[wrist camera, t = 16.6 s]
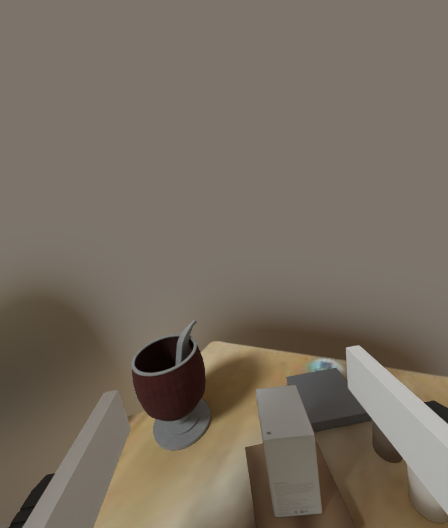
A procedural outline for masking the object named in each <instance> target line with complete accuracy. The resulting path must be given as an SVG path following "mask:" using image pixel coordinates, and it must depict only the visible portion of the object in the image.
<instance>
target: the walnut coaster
mask: <svg viewBox="0 0 448 528" xmlns="http://www.w3.org/2000/svg"><path fill="white" fill-rule="evenodd" d="M315 442H316V440H315ZM245 450H246V457H247V464H248V471H249V478H250V485H251V492H252V499H253V506H254V513H255V520H256V527H257V528H356V527H355V525H354V523H353V521H352V519H351V517H350V514H349V512H348V510H347V508H346V506H345V503H344V501H343V499H342V497H341V495H340V493H339V490H338V488H337V486H336V484H335V482H334V480H333V477H332V475H331V473H330V471H329V469H328V466H327V464H326V462H325V460H324V458H323V456H322V453H321V451H320V449H319V447H318V445H317V443H316V453H317V463H318V473H319V484H320V494H321V503H322V513H321V514H310V515H299V516H287V517H275V515H274V509H273V504H272V497H271V491H270V485H269V478H268V471H267V465H266V458H265V452H264V445H263V444H260V445H254V446H249V447H245Z"/></svg>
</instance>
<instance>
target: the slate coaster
mask: <svg viewBox="0 0 448 528" xmlns="http://www.w3.org/2000/svg"><path fill="white" fill-rule="evenodd" d="M286 378H287V385H288V386H290V385H296V386H297V389H298V391H299V394H300V397H301V399H302V402H303V404H304V407H305V410H306V412H307V415H308V417H309V420H310V423H311V425H312V428H313V431H319V430H324V429H330V428H335V427H340V426H346V425H351V424H356V423H361V422H367V421H372V418H371V417H370V416H369V414H368V413H367V412H366V410H365V409H364V408H363V407H362V405H361V404H360V403H359V401H358V400H357V399H356V398H355V396H354V395H353V394H352V393H351V391H350V390H349V389H348V382H347V381H346V379H345V378H344V377H343V376H342V375H341V373H340V372H339V371H338V370H337V368H333V369H327V370H322V371H317V372H311V373H306V374H301V375H295V376H290V377H286Z"/></svg>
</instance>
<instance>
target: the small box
mask: <svg viewBox="0 0 448 528" xmlns="http://www.w3.org/2000/svg"><path fill="white" fill-rule="evenodd" d="M256 396H257V404H258V413H259V420H260V426H261V432H262V439H263V445H264V452H265V458H266V465H267V471H268V478H269V485H270V491H271V497H272V504H273V509H274V515H275V517H287V516H299V515H310V514H321V513H322V503H321V494H320V484H319V473H318V463H317V453H316V442H315V433H314V431H313V428H312V425H311V423H310V420H309V417H308V415H307V412H306V410H305V407H304V404H303V402H302V399H301V397H300V394H299V391H298V389H297V386H296V385H290V386H281V387H272V388H262V389H256Z"/></svg>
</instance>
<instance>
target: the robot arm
mask: <svg viewBox="0 0 448 528" xmlns="http://www.w3.org/2000/svg"><path fill="white" fill-rule="evenodd" d="M346 360H347V379H348V389H349V390H350V391H351V393H352V394H353V395H354V396H355V398H356V399H357V400H358V401H359V403H360V404H361V405H362V407H363V408H364V409H365V410H366V412H367V413H368V414H369V416H370V417H371V418H372V419H373V421H374V422H375V423H376V424H377V426H378V427H379V428H380V430H381V431H382V432H383V433H384V435H385V436H386V437H387V438H388V440H389V441H390V442H391V444H392V445H393V446H394V447H395V449H396V450H397V451H398V452H399V454H400V455H401V456H402V458H403V459H404V460H405V461H406V463H407V464H408V465H409V466H410V468H411V469H412V470H413V472H414V473H415V474H416V475H417V477H418V478H419V479H420V480H421V482H422V483H423V484H424V486H425V487H426V488H427V489H428V491H429V492H430V493H431V494H432V496H433V497H434V498H435V500H436V501H437V502H438V503H439V505H440V506H441V507H442V508H443V510H444V511H445V512H446V514H447V515H448V408H447V407H445V406H443V405H441V404H439V403H437V402H436V401H429V402H422V401H421V400H420V399H419V398H418V397H417V396H416V395H415V394H413V393H412V392H411V391H410V390H409V389H408V388H407V387H405V386H404V385H403V384H402V383H401V382H400V381H399V380H398V379H396V378H395V377H394V376H393V375H392V374H391V373H390V372H389V371H387V370H386V369H385V368H384V367H383V366H382V365H381V364H379V363H378V362H377V361H376V360H375V359H374V358H373V357H372V356H370V355H369V354H368V353H367V352H366V351H365V350H364V349H363V348H361V347H360V346H359V345H358V346H352V347H347V348H346ZM129 432H130V425H129V422H128V419H127V416H126V413H125V410H124V407H123V405H122V401H121V398H120V395H119V392H118V390H114V391H109V392H104V394H103V395H102V397H101V399H100V400H99V402H98V404H97V405H96V407H95V408H94V410H93V412H92V414H91V415H90V417H89V419H88V420H87V422H86V424H85V425H84V427H83V428H82V430H81V432H80V433H79V435H78V437H77V438H76V440H75V442H74V443H73V445H72V446H71V448H70V450H69V452H68V453H67V455H66V456H65V458H64V460H63V461H62V463H61V465H60V467H59V468H58V470H57V471H56V473H54V474H49V475H46V476H45V477H44V478H43V479H42V480H41V481H40V483H39V484H38V485H37V486H36V487H35V488H34V489H33V490H32V491H31V493H30V495H29V496H28V498H27V499H26V501H25V502H24V504H23V505H22V507H21V508H20V512H18V513H17V514H16V516H15V518H14V519H13V521H12V522H11V525H10V527H9V528H93V527H94V524H95V521H96V519H97V516H98V514H99V511H100V508H101V506H102V503H103V500H104V498H105V495H106V492H107V490H108V487H109V485H110V482H111V479H112V477H113V474H114V471H115V469H116V466H117V463H118V461H119V458H120V455H121V453H122V450H123V448H124V445H125V442H126V440H127V437H128V434H129Z"/></svg>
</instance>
